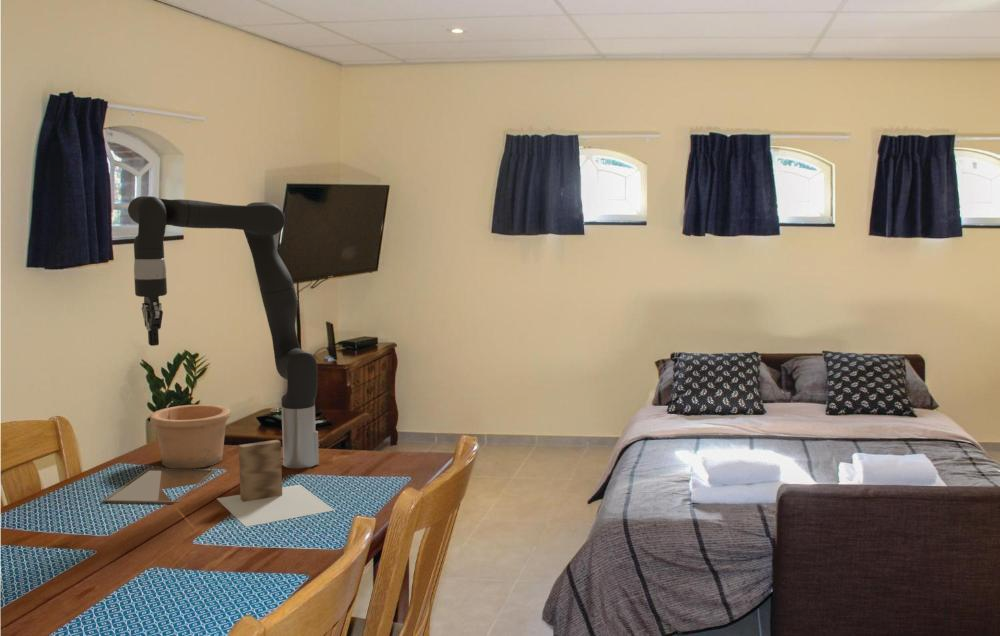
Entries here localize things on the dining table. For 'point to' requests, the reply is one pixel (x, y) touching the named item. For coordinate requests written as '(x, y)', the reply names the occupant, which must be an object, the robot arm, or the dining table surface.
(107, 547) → the dining table surface
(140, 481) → the picture frame
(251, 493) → the walnut tile
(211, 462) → the pottery
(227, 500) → the mat
